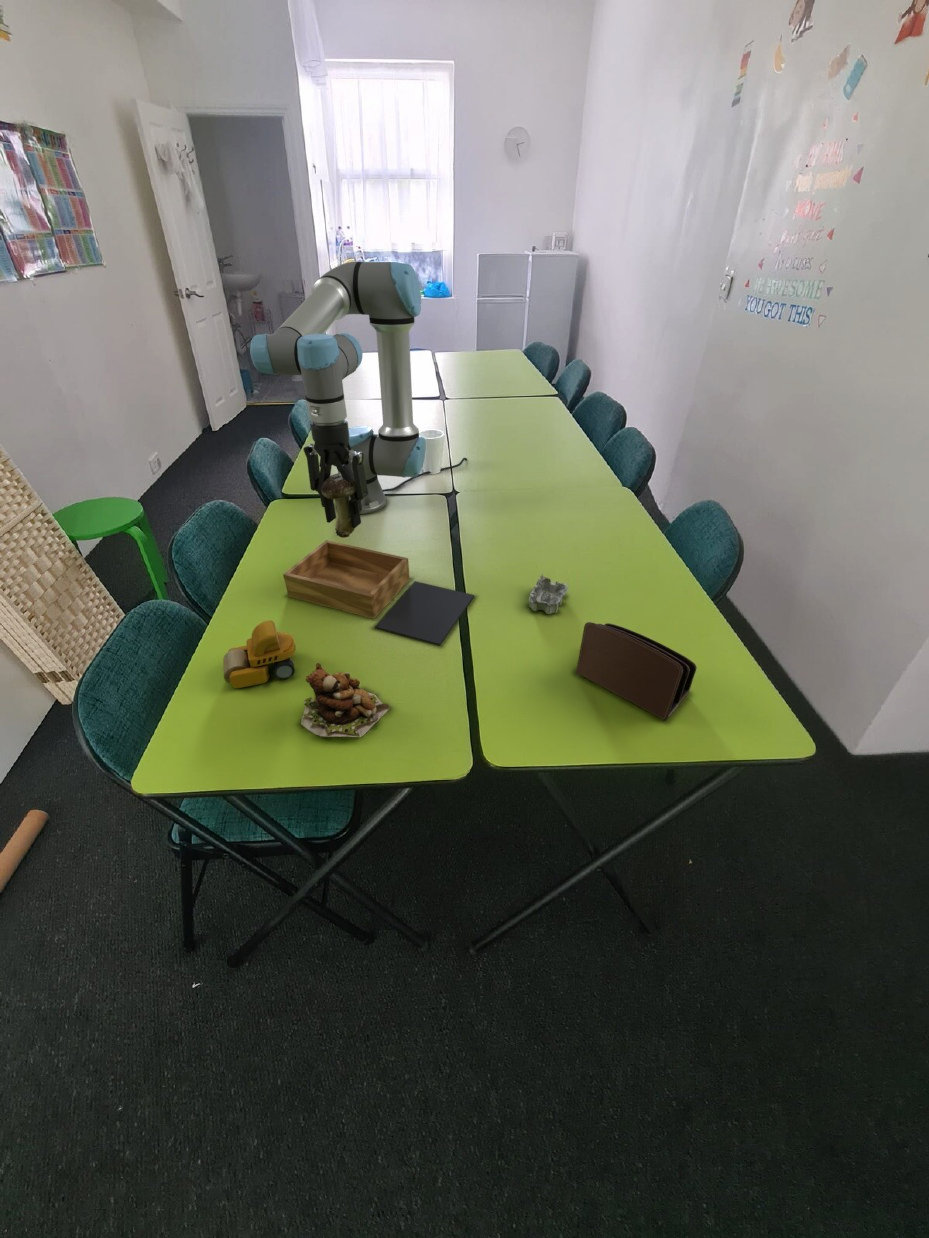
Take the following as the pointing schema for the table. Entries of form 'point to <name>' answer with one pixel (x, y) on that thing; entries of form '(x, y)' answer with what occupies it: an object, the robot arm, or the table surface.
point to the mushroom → (340, 501)
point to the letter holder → (635, 668)
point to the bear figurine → (340, 706)
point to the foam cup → (433, 450)
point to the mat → (425, 613)
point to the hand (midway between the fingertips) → (343, 522)
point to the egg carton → (547, 595)
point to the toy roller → (260, 657)
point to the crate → (348, 578)
